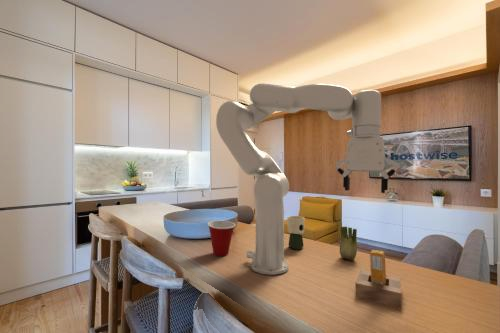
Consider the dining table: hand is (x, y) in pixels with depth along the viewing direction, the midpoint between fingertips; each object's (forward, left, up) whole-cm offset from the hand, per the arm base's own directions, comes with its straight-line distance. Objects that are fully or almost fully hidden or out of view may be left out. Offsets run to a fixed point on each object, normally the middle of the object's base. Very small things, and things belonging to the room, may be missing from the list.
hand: (364, 191), depth 70 cm
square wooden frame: (+4, -5, -27) cm, 28 cm away
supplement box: (+4, -5, -26) cm, 26 cm away
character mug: (-29, +20, -27) cm, 44 cm away
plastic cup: (-51, -3, -27) cm, 57 cm away
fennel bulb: (-8, +18, -27) cm, 33 cm away
